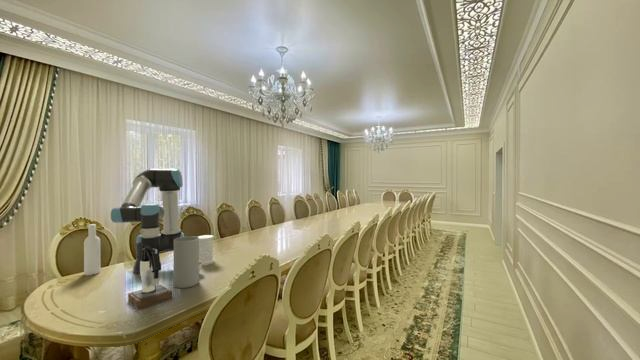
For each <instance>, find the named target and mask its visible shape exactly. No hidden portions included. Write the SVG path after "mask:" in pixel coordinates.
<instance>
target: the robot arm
mask: <svg viewBox="0 0 640 360" xmlns="http://www.w3.org/2000/svg"><path fill="white" fill-rule="evenodd" d="M183 185H184V184H183V176H182V172H181V171H180V169H177V168H149V169H146V170H143V171H142V172H140V173H139V174H138V175H136V176H135V178H134V179H133V180H132V186H131V188H130V190H129V192H128V194H127V195H126V197H125V198H124V201H123V202H122V204H121V205H120V206H118V207H113V208H112V209H111V211H110V220H111V221H112V222H113V223H121V224H123V223H138V222H139V223H140V231H139V233H140V234H139V235H137V236H136V240H135V241H136V242H135V246H136V248H135V249H136V251H135V252H136V259H135V262H134V265H133V268H132V272H133V273H134V274H140V261H141V260H142V259H144V261H149V260H150V261H151V265H152V269H153V271H151V272H152V286H155V285H160V271H161V270H162V262H161V259H160V253H165V252H166V253H167V252H174V239H176V238H180V237H185V233H184V232H182V229H181V228H180V227H179V200H178V198H179V196H178V192H179V191H180V190H181V188H182V187H183ZM152 188H158V189H159V192H160V193H161V196H162V198H161V200H162V206H161V205H159V204H158V203H146V204H145V203H143V204H142V202H143V200H144V198H145V196H146V195H147V192H148V191H149V190H150V189H152ZM161 220H163V221H162V222H163V225H162V226H163V229H162V230H161V231H160V221H161Z"/></svg>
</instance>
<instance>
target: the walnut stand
mask: <svg viewBox="0 0 640 360" xmlns="http://www.w3.org/2000/svg"><path fill="white" fill-rule="evenodd" d="M127 296H128V298H127V300H128V302H129V303H130V304H131V305H132V306H134V308H136V309H137V310H138V311H140V309H141V310H144V309H147V308H149V307H152V306H155V305H157V304H161V303H164V302H167V301H171V300H173V290H170V289H169V288H168V287H165V286H164V285H162V284H159V285H156V290H155V291H153V292H150V293H142V289H139V290H136V291H132V292H128V295H127Z"/></svg>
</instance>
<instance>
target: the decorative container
mask: <svg viewBox="0 0 640 360" xmlns="http://www.w3.org/2000/svg"><path fill="white" fill-rule="evenodd" d="M197 237H199V260H201V261H202V266H207V265H208V266H209V265H211V264H212V265H213V264H214V263H215V259H214V254H213V253H214V250H213V248H214V245H213V243H214V241H213V239H214V237H215V236H214V235H212V234H204V235H198V236H197Z"/></svg>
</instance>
